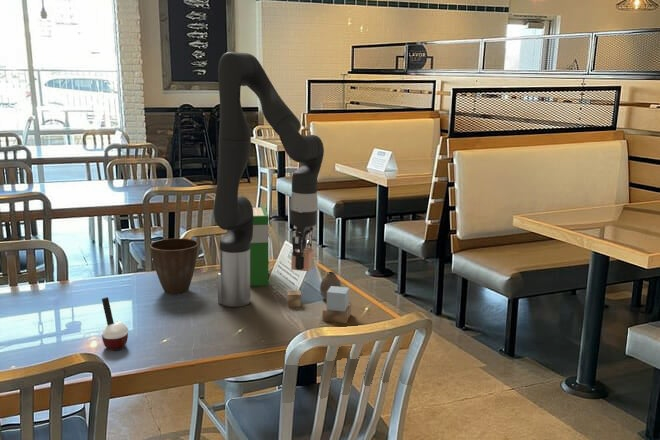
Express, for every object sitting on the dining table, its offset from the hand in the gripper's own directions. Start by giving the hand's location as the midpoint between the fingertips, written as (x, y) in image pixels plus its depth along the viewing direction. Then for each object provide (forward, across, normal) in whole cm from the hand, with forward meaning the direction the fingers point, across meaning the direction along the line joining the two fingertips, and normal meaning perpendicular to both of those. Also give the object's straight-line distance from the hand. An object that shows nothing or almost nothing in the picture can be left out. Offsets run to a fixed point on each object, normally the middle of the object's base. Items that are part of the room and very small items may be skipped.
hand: (301, 266), depth 176 cm
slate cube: (+13, -6, +10) cm, 18 cm away
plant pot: (+18, -14, -46) cm, 51 cm away
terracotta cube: (+1, 0, 0) cm, 1 cm away
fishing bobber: (+18, +29, -42) cm, 54 cm away
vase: (+17, -21, +4) cm, 27 cm away
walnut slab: (+17, -6, +10) cm, 20 cm away
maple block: (+17, -13, -6) cm, 22 cm away
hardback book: (+18, -35, -26) cm, 47 cm away
